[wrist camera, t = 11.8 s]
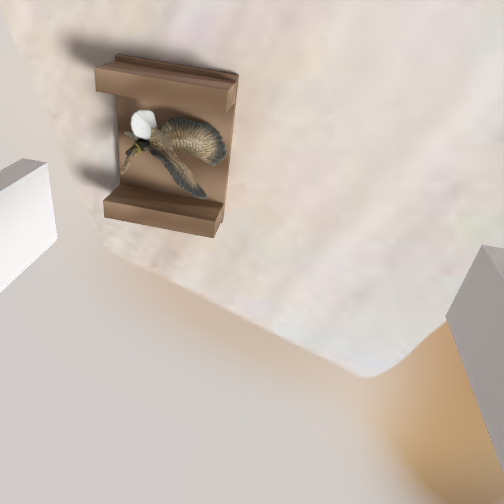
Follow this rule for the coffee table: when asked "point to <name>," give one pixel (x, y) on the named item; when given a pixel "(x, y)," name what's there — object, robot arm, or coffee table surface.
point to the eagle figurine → (175, 146)
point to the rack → (153, 170)
